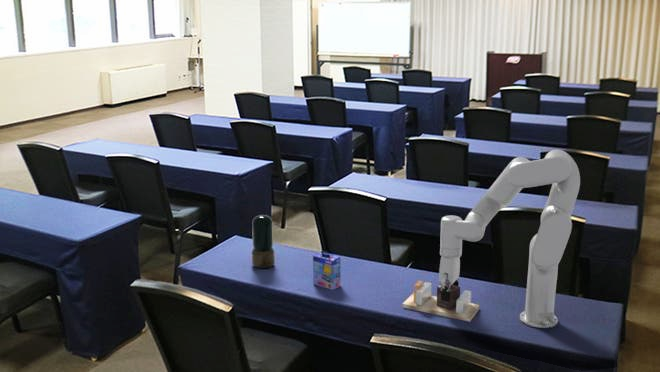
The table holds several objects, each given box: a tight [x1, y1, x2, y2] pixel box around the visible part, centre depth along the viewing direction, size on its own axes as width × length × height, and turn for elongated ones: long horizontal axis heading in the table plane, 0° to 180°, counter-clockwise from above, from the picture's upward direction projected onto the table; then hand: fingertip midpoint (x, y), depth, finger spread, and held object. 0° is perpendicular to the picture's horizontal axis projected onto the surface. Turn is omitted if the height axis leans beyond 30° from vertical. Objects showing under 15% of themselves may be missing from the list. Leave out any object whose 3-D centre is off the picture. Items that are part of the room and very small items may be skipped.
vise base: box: [401, 292, 480, 322], centre depth 243 cm, size 25×12×2 cm, turn 63°
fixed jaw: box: [456, 290, 472, 315], centre depth 239 cm, size 2×10×5 cm, turn 153°
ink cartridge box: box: [312, 250, 342, 291], centre depth 262 cm, size 10×6×14 cm, turn 56°
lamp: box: [251, 214, 276, 269], centre depth 281 cm, size 10×10×22 cm
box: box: [436, 284, 461, 310], centre depth 241 cm, size 6×6×7 cm
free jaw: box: [413, 280, 432, 306], centre depth 246 cm, size 4×10×6 cm, turn 153°
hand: (449, 296), depth 241 cm, fingers open, 9 cm apart
